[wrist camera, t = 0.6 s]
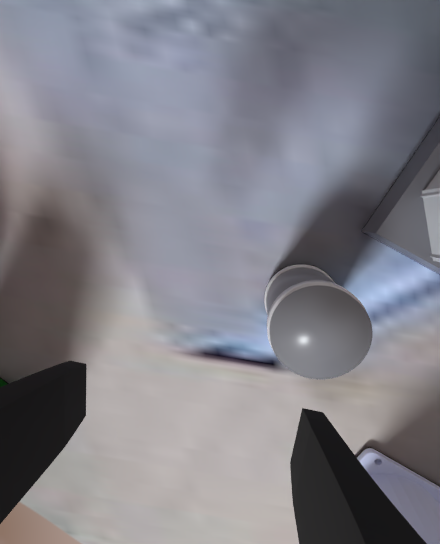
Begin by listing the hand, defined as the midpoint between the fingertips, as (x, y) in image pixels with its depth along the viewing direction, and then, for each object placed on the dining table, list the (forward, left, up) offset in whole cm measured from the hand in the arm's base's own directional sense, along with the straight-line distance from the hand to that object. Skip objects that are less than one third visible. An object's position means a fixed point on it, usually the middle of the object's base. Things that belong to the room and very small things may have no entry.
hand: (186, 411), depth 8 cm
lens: (-4, -3, -10) cm, 11 cm away
